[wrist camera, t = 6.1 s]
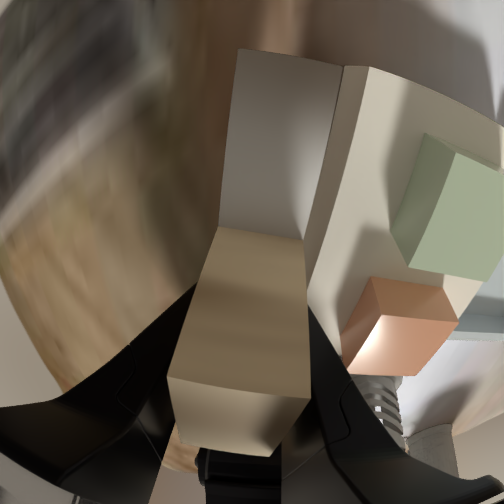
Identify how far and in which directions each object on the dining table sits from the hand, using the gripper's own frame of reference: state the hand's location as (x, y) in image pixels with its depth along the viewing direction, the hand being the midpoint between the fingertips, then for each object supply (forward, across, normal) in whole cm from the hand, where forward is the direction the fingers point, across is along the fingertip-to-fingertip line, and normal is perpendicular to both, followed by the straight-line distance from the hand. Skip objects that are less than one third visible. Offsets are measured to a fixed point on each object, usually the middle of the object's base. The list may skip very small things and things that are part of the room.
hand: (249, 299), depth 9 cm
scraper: (+4, 0, 0) cm, 4 cm away
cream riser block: (+8, -8, 0) cm, 11 cm away
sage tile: (+4, -8, -4) cm, 9 cm away
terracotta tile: (+4, -8, +4) cm, 9 cm away
